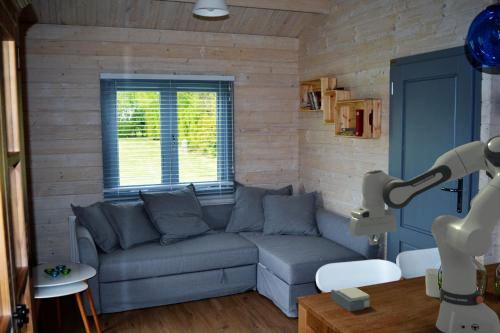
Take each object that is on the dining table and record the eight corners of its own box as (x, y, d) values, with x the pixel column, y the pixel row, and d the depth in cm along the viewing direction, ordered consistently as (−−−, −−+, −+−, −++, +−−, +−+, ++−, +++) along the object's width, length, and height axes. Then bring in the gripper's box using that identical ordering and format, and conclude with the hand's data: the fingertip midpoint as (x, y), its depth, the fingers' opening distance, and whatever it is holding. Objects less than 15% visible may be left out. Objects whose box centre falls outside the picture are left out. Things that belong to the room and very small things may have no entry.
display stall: (344, 296, 205) (344, 287, 205) (364, 309, 192) (364, 299, 192) (331, 299, 203) (331, 289, 202) (349, 311, 190) (349, 301, 189)
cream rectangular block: (354, 298, 204) (354, 286, 203) (369, 307, 194) (369, 295, 194) (337, 301, 201) (337, 290, 200) (351, 310, 191) (351, 298, 191)
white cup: (422, 291, 209) (422, 268, 208) (441, 291, 209) (441, 268, 208) (428, 298, 202) (428, 274, 200) (447, 298, 201) (448, 274, 200)
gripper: (390, 207, 204) (389, 239, 206) (347, 211, 197) (347, 245, 199) (399, 209, 199) (399, 243, 200) (356, 214, 191) (356, 249, 193)
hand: (373, 244), depth 199 cm, fingers closed
